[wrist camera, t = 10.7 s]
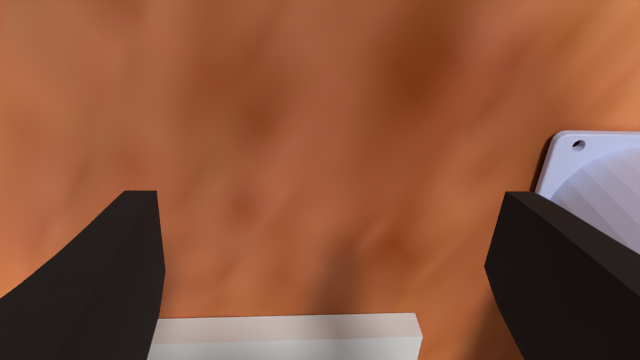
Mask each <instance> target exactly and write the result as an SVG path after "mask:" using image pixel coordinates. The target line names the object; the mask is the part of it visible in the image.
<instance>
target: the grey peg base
mask: <svg viewBox="0 0 640 360" xmlns="http://www.w3.org/2000/svg"><path fill="white" fill-rule="evenodd" d="M422 337H423V336H422V333H421V330H420V327H419V324H418V321H417V318H416V315H415V313H384V314H343V315H302V316H260V317H219V318H178V319H158V321H157V325H156V328H155V332H154V336H153V339H152V343H151V347H150V350H149V354H148V357H147V360H417V358H418V354H419V350H420V345H421V341H422Z"/></svg>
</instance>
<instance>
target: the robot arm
mask: <svg viewBox="0 0 640 360" xmlns="http://www.w3.org/2000/svg"><path fill="white" fill-rule="evenodd" d="M578 140H580V143H579V144H578V145H577V146H575V147H572V146H573V144H574V143H575V142H576V141H578ZM484 267H485V271H486V274H487V277H488V280H489V283H490V286H491V289H492V292H493V295H494V297H495V300H496V303H497V306H498V308H499V310H500V312H501V314H502V316H503V318H504V320H505V322H506V324H507V326H508V328H509V330H510V332H511V334H512V336H513V338H514V340H515V342H516V344H517V346H518V348H519V350H520V352H521V354H522V356H523V358H524V360H640V132H632V131H570V130H566V131H561V132H559V133H557V134H556V135H555V136H554V137H553V139H552V140H551V143H550V146H549V149H548V152H547V155H546V158H545V162H544V165H543V168H542V171H541V174H540V177H539V180H538V183H537V187H536V190H535V192H505V195H504V199H503V202H502V206H501V209H500V213H499V216H498V220H497V223H496V227H495V230H494V234H493V237H492V241H491V244H490V248H489V251H488V255H487V258H486V262H485V265H484ZM164 277H165V263H164V254H163V245H162V236H161V227H160V218H159V208H158V199H157V191H124V192H123V193H122V194H120V195H119V196H118V197H117V198H116V199H115V200H114V201H113V202H112V203H111V204H110V205H109V206H108V207H107V208H105V209H104V210H103V211H102V212H101V213H100V214H99V215H98V216H97V217H96V218H95V219H94V220H93V221H92V222H91V223H90V224H89V225H88V226H87V227H86V228H85V229H84V230H82V231H81V232H80V233H79V234H78V235H77V236H76V237H75V238H74V239H73V240H72V241H70V242H69V243H68V244H67V245H66V246H65V247H64V248H63V249H62V250H61V251H59V252H58V253H57V254H56V255H55V256H54V257H52V258H51V259H50V260H49V261H47V262H46V263H45V264H44V265H43V266H41V267H40V268H39V269H38V270H37V271H35V272H34V273H33V274H32V275H30V276H29V277H28V278H27V279H26V280H24V281H23V282H22V283H21V284H19V285H18V286H17V287H15V288H14V289H13V290H11V291H10V292H9V293H7V294H6V295H4V296H3V297H2V298H0V360H147V357H148V354H149V350H150V347H151V343H152V339H153V336H154V332H155V328H156V325H157V321H158V317H159V312H160V305H161V299H162V292H163V285H164Z"/></svg>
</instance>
